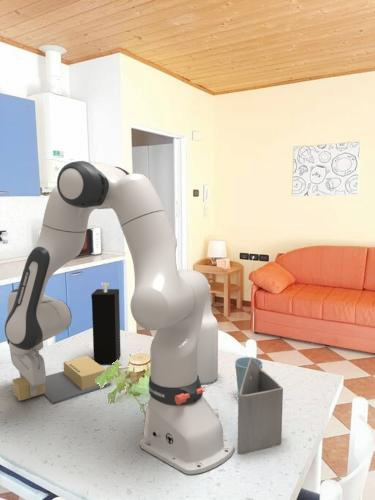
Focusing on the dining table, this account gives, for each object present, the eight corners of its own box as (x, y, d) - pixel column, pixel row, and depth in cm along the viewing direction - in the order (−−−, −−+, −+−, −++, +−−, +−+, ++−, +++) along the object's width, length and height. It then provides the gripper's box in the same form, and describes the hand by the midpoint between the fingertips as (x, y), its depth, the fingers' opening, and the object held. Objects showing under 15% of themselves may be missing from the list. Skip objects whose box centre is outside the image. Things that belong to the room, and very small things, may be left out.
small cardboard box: (45, 393, 114) (44, 379, 113) (19, 400, 110) (19, 387, 109) (38, 385, 119) (37, 372, 118) (13, 392, 114) (12, 379, 114)
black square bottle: (116, 365, 135) (114, 284, 132) (93, 364, 136) (90, 284, 132) (120, 356, 143) (118, 279, 140) (99, 356, 143) (96, 279, 140)
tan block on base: (111, 385, 120) (111, 371, 120) (52, 404, 109) (51, 388, 109) (86, 366, 134) (85, 353, 134) (31, 381, 123) (31, 367, 123)
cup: (267, 400, 111) (268, 364, 110) (244, 406, 108) (244, 369, 107) (252, 388, 118) (252, 355, 117) (230, 394, 115) (230, 359, 114)
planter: (272, 464, 84) (274, 377, 82) (236, 453, 88) (238, 370, 86) (288, 425, 99) (291, 351, 96) (257, 418, 102) (259, 345, 100)
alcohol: (208, 387, 119) (209, 289, 115) (184, 380, 124) (184, 286, 120) (222, 376, 126) (223, 284, 123) (199, 370, 131) (199, 281, 127)
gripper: (50, 351, 106) (53, 399, 108) (27, 331, 122) (29, 374, 124) (26, 356, 102) (29, 407, 104) (5, 335, 118) (7, 380, 120)
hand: (29, 389), depth 114 cm, fingers closed on small cardboard box, 6 cm apart
